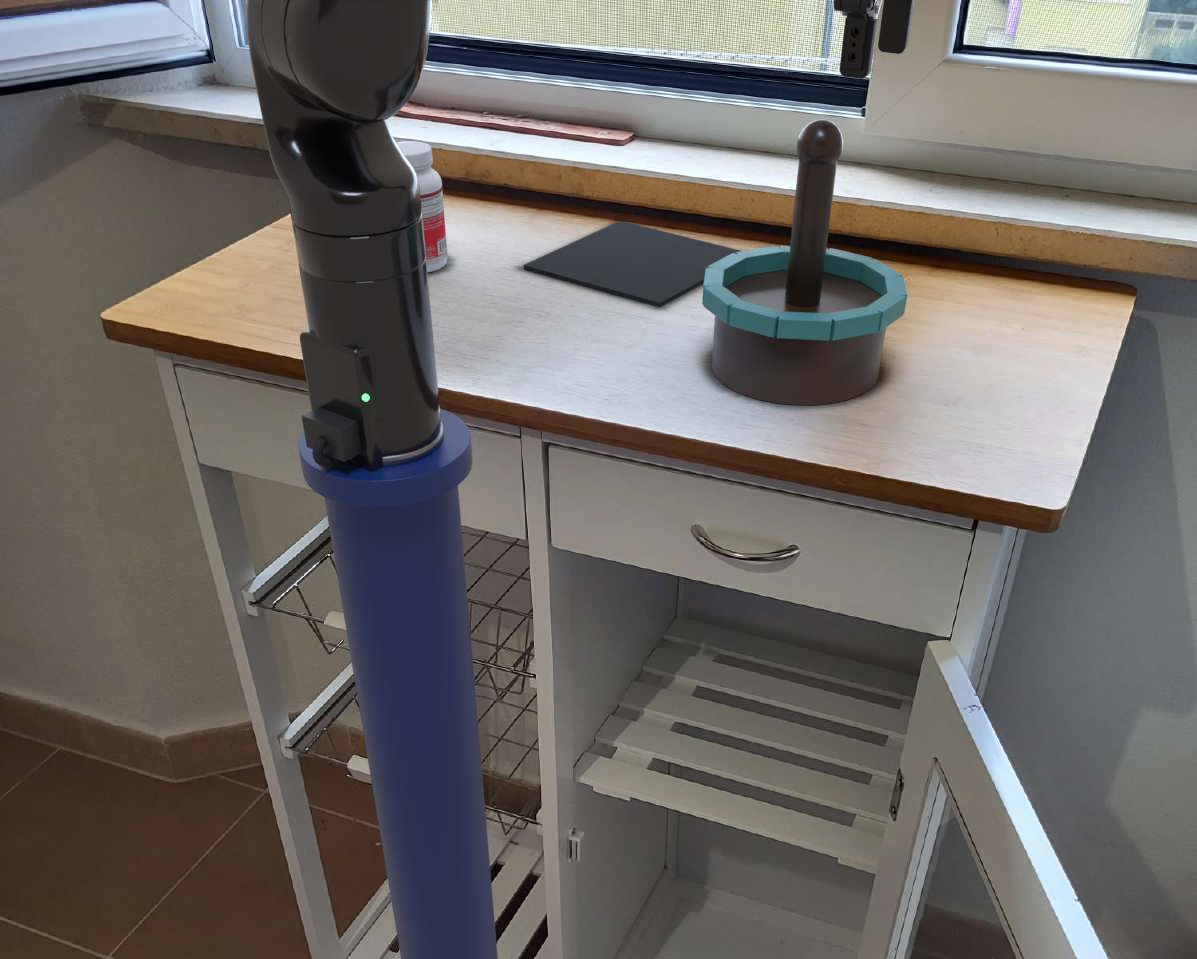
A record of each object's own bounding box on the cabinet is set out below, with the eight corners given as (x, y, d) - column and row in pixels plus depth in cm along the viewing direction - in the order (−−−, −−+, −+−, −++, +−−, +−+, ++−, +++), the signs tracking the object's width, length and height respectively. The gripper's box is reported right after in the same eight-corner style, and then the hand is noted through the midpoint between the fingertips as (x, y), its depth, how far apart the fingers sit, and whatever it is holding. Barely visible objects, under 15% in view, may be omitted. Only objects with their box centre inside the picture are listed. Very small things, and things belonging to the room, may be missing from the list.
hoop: (843, 357, 96) (845, 337, 95) (664, 307, 103) (665, 288, 102) (936, 292, 106) (939, 273, 105) (767, 251, 113) (769, 233, 112)
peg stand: (827, 421, 101) (863, 159, 88) (679, 375, 107) (691, 125, 94) (906, 361, 110) (950, 115, 96) (765, 322, 116) (788, 86, 103)
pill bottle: (380, 259, 128) (366, 143, 121) (435, 250, 130) (425, 135, 123) (400, 279, 124) (388, 160, 117) (457, 269, 126) (448, 151, 119)
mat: (659, 307, 119) (660, 303, 119) (523, 268, 126) (523, 264, 126) (751, 257, 129) (751, 253, 129) (620, 224, 136) (620, 220, 136)
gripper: (890, -219, 89) (858, 40, 100) (819, -205, 80) (792, 79, 91) (993, -216, 86) (949, 50, 97) (931, -200, 77) (890, 91, 88)
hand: (873, 64), depth 94 cm, fingers open, 8 cm apart
